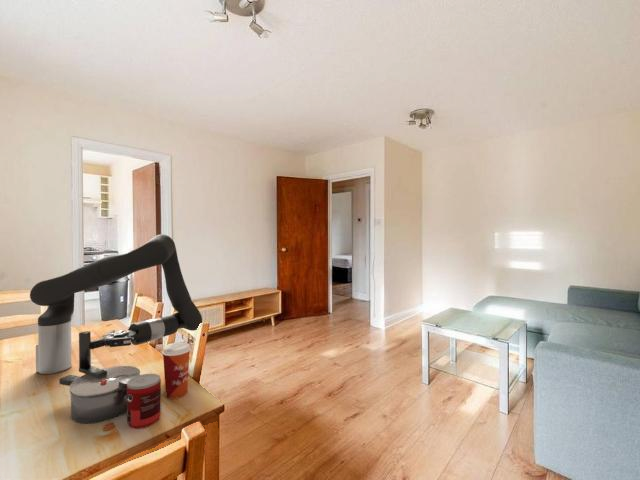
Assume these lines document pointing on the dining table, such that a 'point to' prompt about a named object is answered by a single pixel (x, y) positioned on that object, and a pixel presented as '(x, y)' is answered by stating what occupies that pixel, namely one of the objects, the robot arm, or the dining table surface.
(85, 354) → the lid
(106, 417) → the pot
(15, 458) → the dining table surface
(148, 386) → the canned food
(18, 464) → the dining table surface
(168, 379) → the coffee cup
